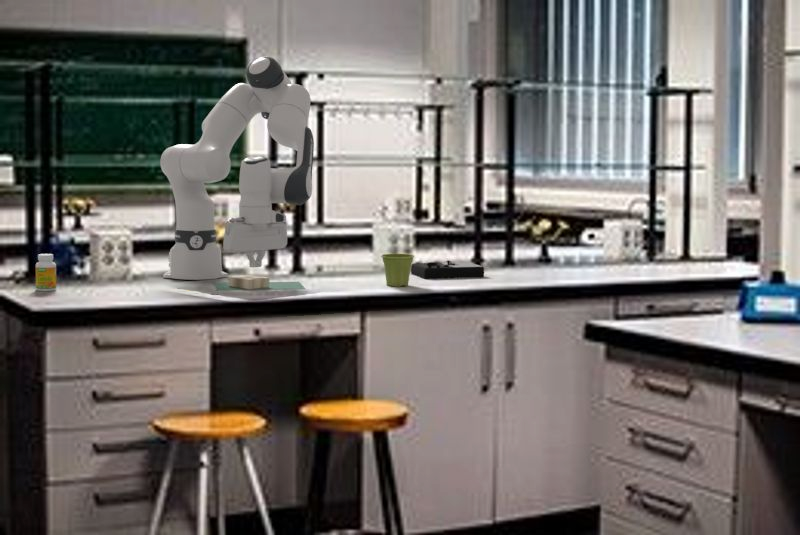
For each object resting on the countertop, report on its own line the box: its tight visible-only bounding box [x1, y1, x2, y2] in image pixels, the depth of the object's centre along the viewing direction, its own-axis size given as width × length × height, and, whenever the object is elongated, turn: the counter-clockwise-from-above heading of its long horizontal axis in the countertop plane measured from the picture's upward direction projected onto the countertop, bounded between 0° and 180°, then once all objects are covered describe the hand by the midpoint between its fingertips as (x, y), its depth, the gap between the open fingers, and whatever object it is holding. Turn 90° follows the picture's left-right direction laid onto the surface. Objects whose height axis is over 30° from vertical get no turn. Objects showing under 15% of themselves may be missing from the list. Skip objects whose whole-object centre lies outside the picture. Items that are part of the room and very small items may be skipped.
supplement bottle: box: [35, 253, 57, 292], centre depth 351 cm, size 5×5×10 cm
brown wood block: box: [227, 274, 270, 291], centre depth 354 cm, size 9×3×7 cm
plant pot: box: [380, 253, 415, 288], centre depth 370 cm, size 9×9×9 cm
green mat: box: [213, 281, 306, 296], centre depth 357 cm, size 16×24×1 cm, turn 101°
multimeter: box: [410, 260, 485, 280], centre depth 395 cm, size 13×19×5 cm
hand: (255, 267), depth 355 cm, fingers closed
